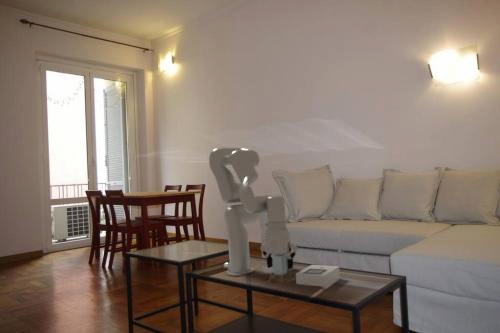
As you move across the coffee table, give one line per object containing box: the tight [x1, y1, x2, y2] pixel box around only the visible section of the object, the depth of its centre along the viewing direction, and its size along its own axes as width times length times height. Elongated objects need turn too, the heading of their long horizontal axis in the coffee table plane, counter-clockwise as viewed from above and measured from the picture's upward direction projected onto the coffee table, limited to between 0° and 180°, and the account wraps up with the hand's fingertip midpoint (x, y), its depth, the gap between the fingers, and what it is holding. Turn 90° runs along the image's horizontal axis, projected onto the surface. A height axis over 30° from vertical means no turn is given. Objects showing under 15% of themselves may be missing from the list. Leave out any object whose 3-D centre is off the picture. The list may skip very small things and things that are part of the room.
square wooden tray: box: [266, 271, 296, 284], centre depth 161 cm, size 10×8×4 cm
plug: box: [272, 254, 287, 276], centre depth 161 cm, size 4×4×10 cm
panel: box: [295, 264, 341, 290], centre depth 156 cm, size 12×16×5 cm
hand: (280, 267), depth 161 cm, fingers open, 9 cm apart
